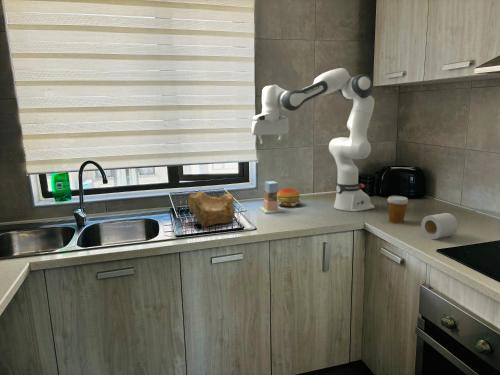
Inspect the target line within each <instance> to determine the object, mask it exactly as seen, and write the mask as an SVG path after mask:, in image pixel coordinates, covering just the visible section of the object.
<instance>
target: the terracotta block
mask: <svg viewBox="0 0 500 375" xmlns="http://www.w3.org/2000/svg"><path fill="white" fill-rule="evenodd" d="M263 207H264V209H266V210H267V211H270V210H278V208H279V204H278V201H271V202H268V201H266V200H265V199H264V198H263Z"/></svg>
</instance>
